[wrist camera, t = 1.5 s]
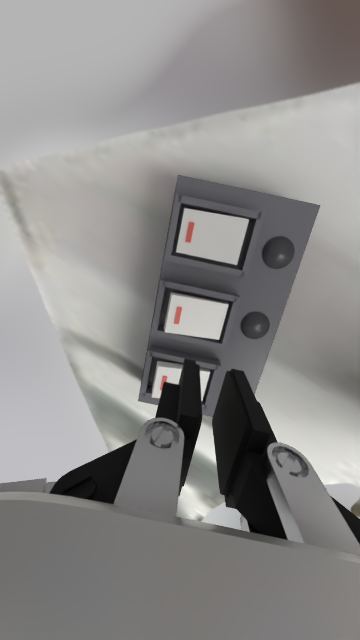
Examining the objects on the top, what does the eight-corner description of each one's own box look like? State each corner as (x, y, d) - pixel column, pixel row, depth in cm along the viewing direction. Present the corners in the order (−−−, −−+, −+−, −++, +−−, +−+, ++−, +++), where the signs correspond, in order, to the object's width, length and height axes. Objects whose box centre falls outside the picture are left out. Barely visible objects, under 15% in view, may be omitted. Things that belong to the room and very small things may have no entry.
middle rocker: (224, 301, 24) (229, 304, 23) (215, 335, 25) (219, 340, 24) (170, 292, 23) (172, 294, 22) (163, 328, 24) (164, 332, 23)
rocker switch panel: (301, 212, 25) (330, 201, 20) (238, 403, 33) (247, 432, 27) (180, 187, 25) (176, 168, 20) (144, 383, 33) (135, 409, 27)
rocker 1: (207, 366, 27) (210, 372, 25) (199, 395, 28) (202, 401, 26) (157, 360, 25) (158, 366, 24) (151, 391, 26) (151, 398, 25)
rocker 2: (248, 221, 21) (249, 218, 20) (236, 265, 22) (236, 265, 21) (187, 211, 22) (184, 207, 21) (179, 252, 23) (175, 252, 22)
